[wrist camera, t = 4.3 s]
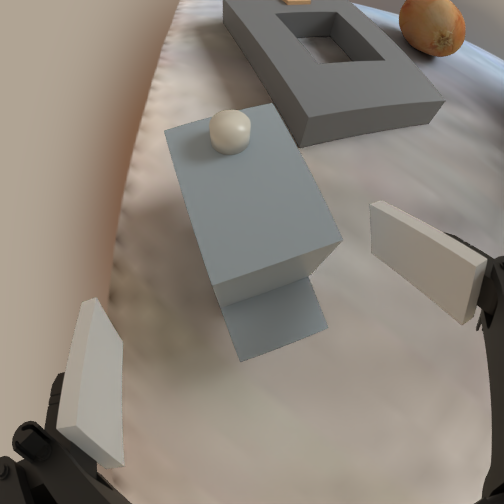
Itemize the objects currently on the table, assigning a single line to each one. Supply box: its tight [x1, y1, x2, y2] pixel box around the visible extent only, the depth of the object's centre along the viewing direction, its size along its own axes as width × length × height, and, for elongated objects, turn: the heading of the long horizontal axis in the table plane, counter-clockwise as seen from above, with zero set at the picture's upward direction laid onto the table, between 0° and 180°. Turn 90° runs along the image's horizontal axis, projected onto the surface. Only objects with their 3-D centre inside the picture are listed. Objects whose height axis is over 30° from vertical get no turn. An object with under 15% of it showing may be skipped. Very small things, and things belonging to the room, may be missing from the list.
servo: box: [164, 103, 343, 362], centre depth 17 cm, size 13×5×12 cm, turn 20°
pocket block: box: [223, 0, 445, 148], centre depth 27 cm, size 22×16×5 cm
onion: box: [399, 0, 465, 57], centre depth 28 cm, size 10×10×10 cm
